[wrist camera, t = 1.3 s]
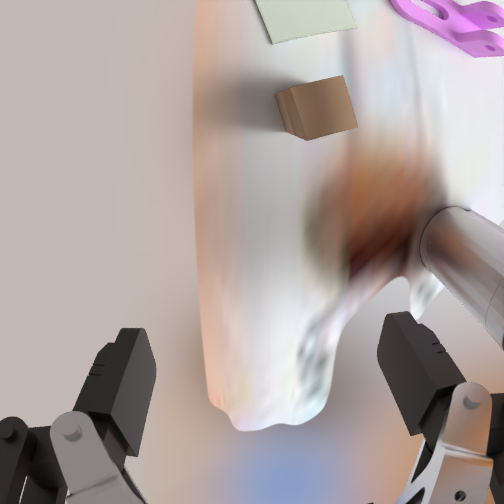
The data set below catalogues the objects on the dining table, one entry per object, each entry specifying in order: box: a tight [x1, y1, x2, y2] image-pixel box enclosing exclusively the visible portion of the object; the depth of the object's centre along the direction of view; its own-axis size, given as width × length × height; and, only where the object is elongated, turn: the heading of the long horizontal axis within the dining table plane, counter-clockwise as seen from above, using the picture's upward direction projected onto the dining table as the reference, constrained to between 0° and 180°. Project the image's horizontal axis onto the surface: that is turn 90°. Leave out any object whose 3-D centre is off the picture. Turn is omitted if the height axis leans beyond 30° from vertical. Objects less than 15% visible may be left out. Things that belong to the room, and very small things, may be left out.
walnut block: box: [274, 75, 358, 141], centre depth 24 cm, size 4×4×9 cm
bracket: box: [390, 0, 504, 58], centre depth 20 cm, size 13×6×7 cm, turn 79°
